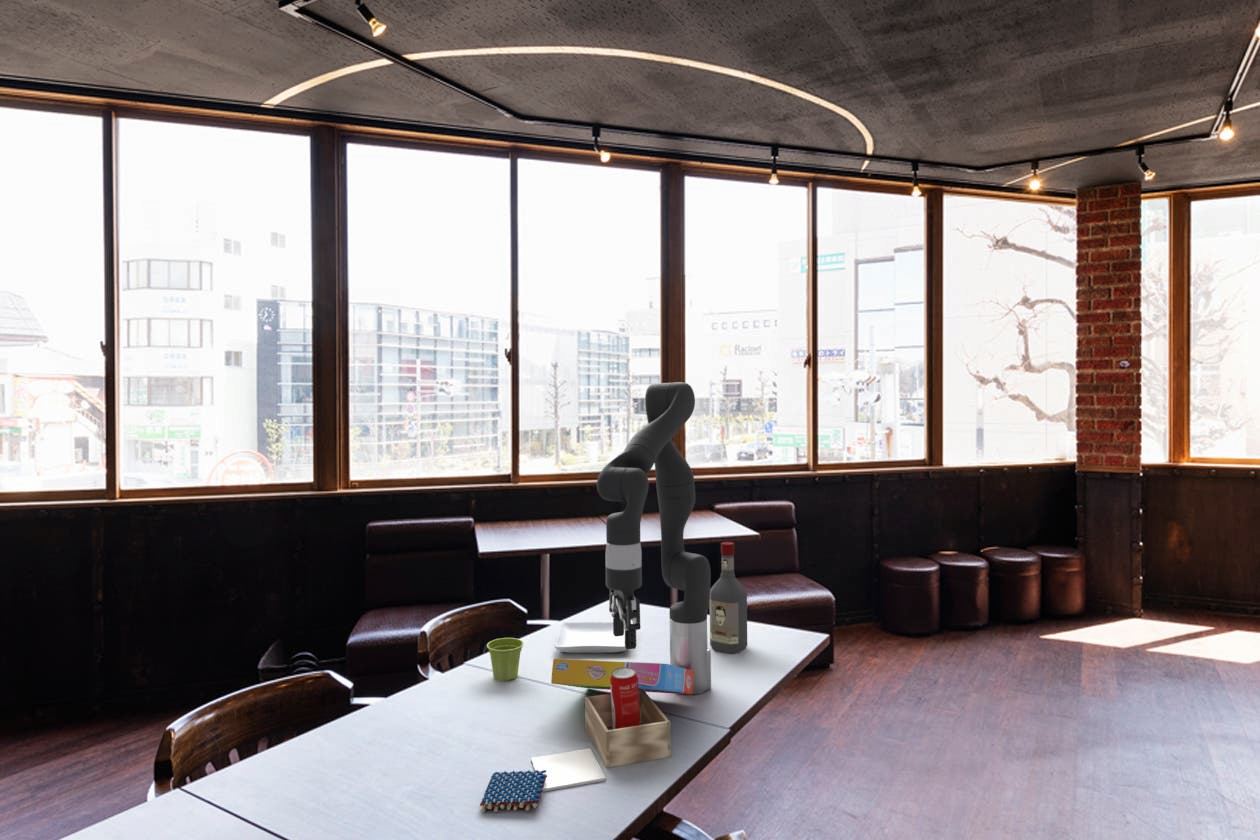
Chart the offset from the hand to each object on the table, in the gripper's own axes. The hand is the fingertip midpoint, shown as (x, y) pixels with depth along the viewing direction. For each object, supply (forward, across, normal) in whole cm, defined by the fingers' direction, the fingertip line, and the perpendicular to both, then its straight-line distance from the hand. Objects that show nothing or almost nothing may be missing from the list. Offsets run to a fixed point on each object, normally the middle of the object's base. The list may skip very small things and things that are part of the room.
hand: (624, 641), depth 148 cm
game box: (+15, +24, +6) cm, 29 cm away
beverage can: (+21, 0, 0) cm, 21 cm away
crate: (+21, 0, 0) cm, 21 cm away
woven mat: (+21, -13, +25) cm, 35 cm away
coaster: (+21, -7, +14) cm, 26 cm away
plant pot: (+21, +44, +19) cm, 52 cm away
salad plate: (+21, +61, -9) cm, 65 cm away
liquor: (+21, +44, -44) cm, 66 cm away
